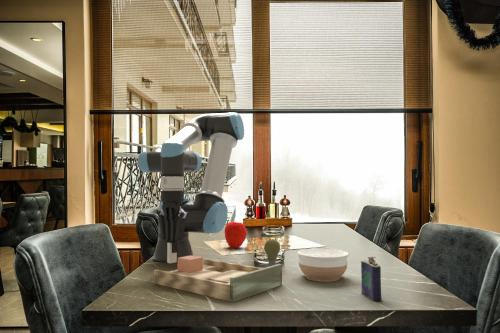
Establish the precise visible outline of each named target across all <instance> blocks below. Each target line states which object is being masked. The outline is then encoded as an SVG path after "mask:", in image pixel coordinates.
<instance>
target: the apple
mask: <svg viewBox="0 0 500 333" xmlns="http://www.w3.org/2000/svg"><path fill="white" fill-rule="evenodd" d="M247 234H248V233H247V228H246V226H245V224H244V223H242V222H238V221H229V222H228V223H226V224H225V226H224V238H225V241H226V244H227V245H228V247H229V248H231V249H239V248H240V247H241V246H243V243H244V242H245V241H246V239H247Z"/></svg>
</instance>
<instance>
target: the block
mask: <svg viewBox="0 0 500 333" xmlns="http://www.w3.org/2000/svg"><path fill="white" fill-rule="evenodd" d="M203 259H204V257H203V256H202V257H201V256H197V255H193V256H191V255H190V256H185V257H180V258H178V262H177V270H178V271H181V272H186V273H193V272H197V271H201V270H203Z"/></svg>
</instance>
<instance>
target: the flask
mask: <svg viewBox="0 0 500 333" xmlns="http://www.w3.org/2000/svg"><path fill="white" fill-rule="evenodd" d="M367 259H368V260H367ZM367 259H365V260H360V273H361V282H360V283H361V285H360V286H361V290H360V291H361V295H364V296H365V297H366V298H368V299H369V298H370V301H371V302H375V303H380V302H383V301H382V276H381V275H382V274H381V273H382V270H381V269H382V267H381V265H379V264H378V263H377V262H376V260H375V259H376V256H367Z"/></svg>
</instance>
